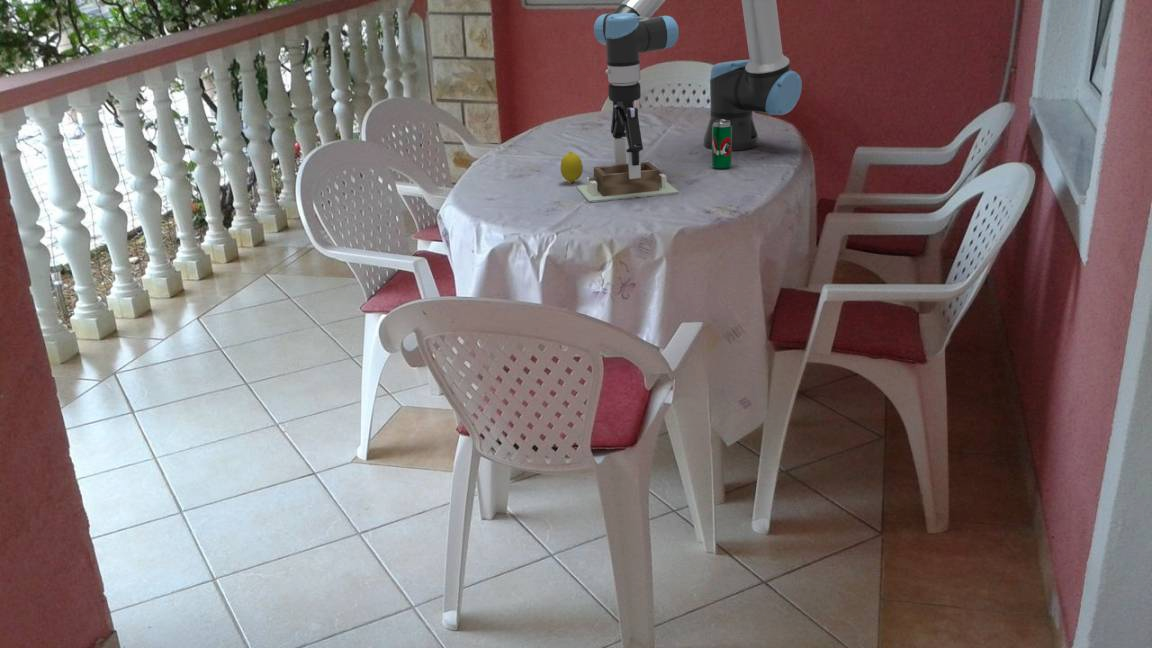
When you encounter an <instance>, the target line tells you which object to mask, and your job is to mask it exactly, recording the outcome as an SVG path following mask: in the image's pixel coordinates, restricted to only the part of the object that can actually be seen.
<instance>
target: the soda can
mask: <svg viewBox="0 0 1152 648" xmlns="http://www.w3.org/2000/svg"><path fill="white" fill-rule="evenodd" d="M732 153H733V150H732V124H731V121H729V120H716V121H714V124H713V125H712V149H711V167H713V169H716V170H728V169H730V168H731V167H732V161H733V160H732V156H733V154H732Z"/></svg>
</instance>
